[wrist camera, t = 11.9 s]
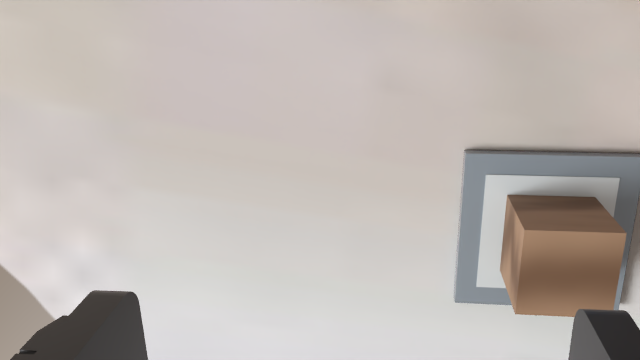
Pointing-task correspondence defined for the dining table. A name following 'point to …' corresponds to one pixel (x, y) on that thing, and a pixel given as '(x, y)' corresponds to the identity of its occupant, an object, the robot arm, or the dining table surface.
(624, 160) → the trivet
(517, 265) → the walnut cube
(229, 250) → the dining table surface
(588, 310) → the robot arm
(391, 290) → the dining table surface
